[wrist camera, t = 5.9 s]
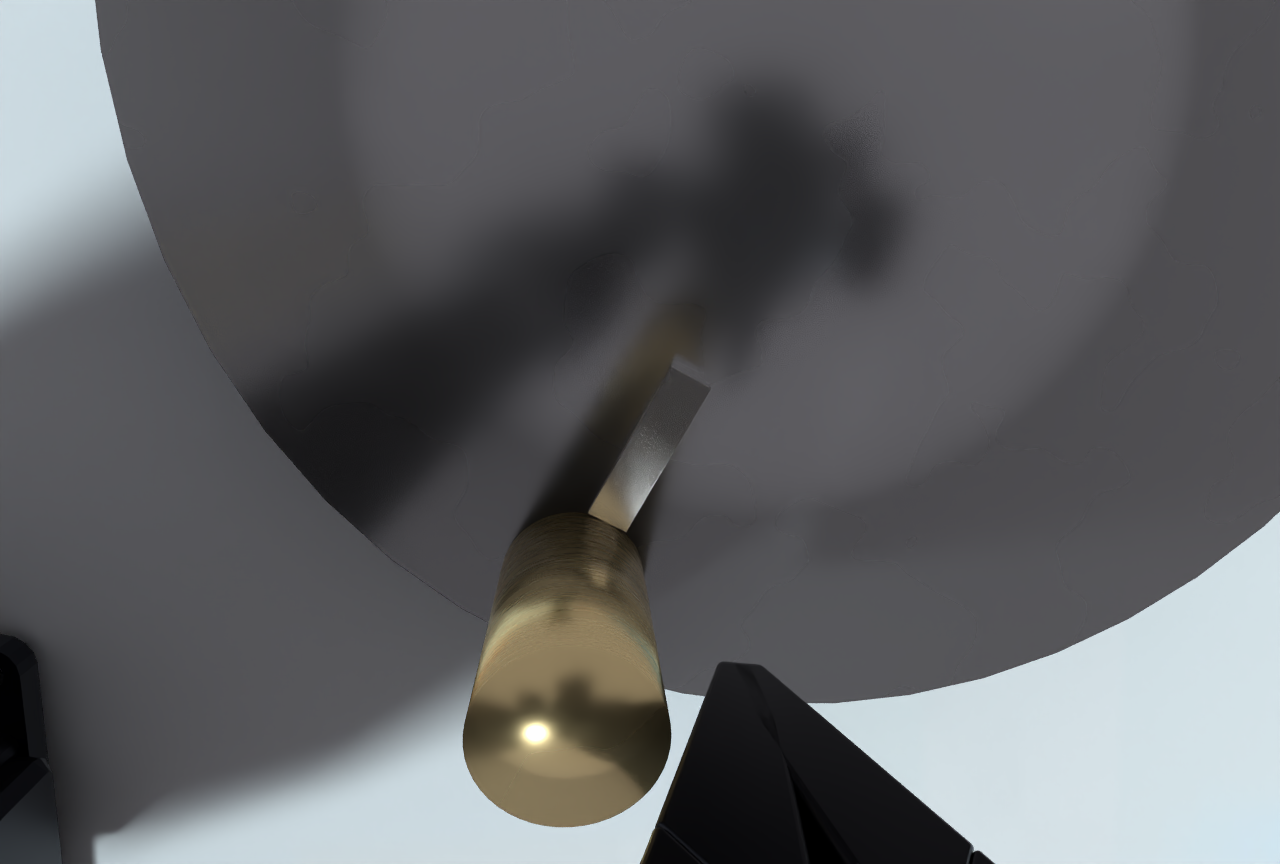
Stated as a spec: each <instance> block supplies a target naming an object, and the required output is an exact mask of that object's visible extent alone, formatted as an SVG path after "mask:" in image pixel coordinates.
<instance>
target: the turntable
mask: <svg viewBox="0 0 1280 864" xmlns="http://www.w3.org/2000/svg"><path fill="white" fill-rule="evenodd" d="M95 3H96V12H97V20H98V29H99V38H100V46H101V53H102V57H103V61H104V65H105V69H106V73H107V78H108V82H109V86H110V90H111V94H112V98H113V103H114V107H115V111H116V115H117V119H118V123H119V128H120V132H121V136H122V140H123V144H124V148H125V153H126V157H127V161H128V163H129V166H130V169H131V171H132V174H133V177H134V180H135V182H136V185H137V188H138V190H139V193H140V196H141V198H142V201H143V204H144V206H145V209H146V212H147V215H148V217H149V220H150V223H151V225H152V228H153V231H154V233H155V236H156V239H157V242H158V244H159V247H160V250H161V252H162V255H163V258H164V260H165V262H166V264H167V266H168V268H169V270H170V272H171V274H172V276H173V278H174V280H175V282H176V284H177V286H178V288H179V290H180V292H181V294H182V295H183V297H184V299H185V301H186V303H187V305H188V307H189V309H190V311H191V313H192V315H193V317H194V319H195V321H196V323H197V325H198V327H199V328H200V330H201V332H202V334H203V336H204V338H205V340H206V342H207V344H208V346H209V348H210V350H211V352H212V353H213V355H214V356H215V358H216V359H217V361H218V362H219V364H220V365H221V366H222V368H223V369H224V371H225V372H226V374H227V375H228V377H229V378H230V380H231V381H232V383H233V384H234V386H235V387H236V389H237V390H238V392H239V393H240V394H241V396H242V397H243V399H244V400H245V402H246V403H247V405H248V406H249V408H250V409H251V411H252V412H253V414H254V415H255V417H256V418H257V420H258V421H259V422H260V424H261V425H262V427H263V428H264V430H265V431H266V433H267V434H268V435H269V436H270V437H271V438H272V439H273V441H274V442H275V443H276V444H277V445H278V446H279V447H280V449H281V450H282V451H283V452H284V453H285V454H286V455H287V457H288V458H289V459H290V460H291V461H292V462H293V463H294V465H295V466H296V467H297V468H298V469H299V470H300V471H301V473H302V474H303V475H304V476H305V477H306V478H307V480H308V481H309V482H310V483H311V484H312V485H313V486H314V488H315V489H316V490H317V491H318V492H319V493H320V494H321V496H322V497H323V498H324V499H325V500H326V501H327V502H328V503H329V504H330V505H331V506H332V507H333V508H335V509H336V510H337V511H338V512H339V513H340V514H341V515H342V516H343V517H345V518H346V519H347V520H348V521H349V522H350V523H351V524H352V525H354V526H355V527H356V528H357V529H358V530H359V531H360V532H361V533H362V534H364V535H365V536H366V537H367V538H368V539H369V540H370V541H371V542H372V543H374V544H375V545H376V546H377V547H378V548H379V549H380V550H381V551H382V552H384V553H385V554H386V555H387V556H388V557H389V558H390V559H391V560H393V561H394V562H396V563H397V564H398V565H400V566H401V567H403V568H404V569H406V570H407V571H408V572H410V573H411V574H413V575H414V576H416V577H417V578H419V579H420V580H421V581H423V582H424V583H426V584H427V585H429V586H430V587H431V588H433V589H434V590H436V591H437V592H439V593H440V594H441V595H443V596H444V597H446V598H447V599H449V600H450V601H451V602H453V603H454V604H456V605H457V606H459V607H460V608H462V609H464V610H465V611H467V612H469V613H471V614H473V615H475V616H477V617H479V618H481V619H482V620H484V621H486V622H488V627H487V631H486V636H485V640H484V644H483V648H482V652H481V656H480V661H479V665H478V669H477V673H476V677H475V682H474V686H473V690H472V694H471V698H470V703H469V707H468V711H467V715H466V719H465V724H464V730H463V751H464V757H465V761H466V764H467V767H468V770H469V772H470V774H471V776H472V778H473V780H474V782H475V783H476V784H477V786H478V787H479V789H480V790H481V791H482V792H483V793H484V795H485V796H486V797H487V798H488V799H489V800H490V801H492V802H493V803H494V804H495V805H496V806H498V807H499V808H501V809H502V810H504V811H505V812H507V813H509V814H511V815H513V816H515V817H517V818H519V819H522V820H525V821H528V822H531V823H534V824H539V825H544V826H552V827H576V826H584V825H589V824H593V823H597V822H600V821H603V820H606V819H609V818H611V817H613V816H615V815H618V814H620V813H622V812H623V811H625V810H626V809H628V808H630V807H631V806H633V805H634V804H635V803H636V802H638V801H639V800H640V799H641V798H642V797H643V796H644V795H645V794H646V793H647V792H648V791H649V790H650V789H651V788H652V787H653V785H654V784H655V783H656V781H657V780H658V778H659V776H660V775H661V773H662V771H663V769H664V767H665V764H666V761H667V759H668V755H669V751H670V746H671V724H670V718H669V713H668V707H667V701H666V696H665V690H664V689H667V690H671V691H675V692H679V693H684V694H692V695H700V696H706V693H707V690H708V688H709V685H710V683H711V680H712V677H713V675H714V672H715V670H716V667H717V665H718V664H719V663H720V662H722V661H725V662H737V663H749V664H759V665H762V666H763V667H765V668H766V669H767V670H768V671H769V672H771V673H772V674H773V675H774V676H775V677H776V678H778V679H779V680H780V681H781V682H782V683H783V684H785V685H786V686H787V687H788V688H789V689H791V690H792V691H793V692H794V693H795V694H796V695H798V696H799V697H800V698H801V699H802V700H803V701H805V702H806V703H840V702H849V701H858V700H867V699H876V698H885V697H894V696H903V695H911V694H915V693H920V692H924V691H929V690H933V689H937V688H942V687H946V686H951V685H955V684H959V683H964V682H968V681H973V680H977V679H981V678H985V677H988V676H991V675H994V674H997V673H1000V672H1003V671H1005V670H1008V669H1011V668H1014V667H1017V666H1020V665H1023V664H1026V663H1028V662H1031V661H1034V660H1037V659H1040V658H1043V657H1046V656H1049V655H1052V654H1054V653H1057V652H1059V651H1062V650H1064V649H1066V648H1068V647H1070V646H1072V645H1074V644H1076V643H1078V642H1081V641H1083V640H1085V639H1087V638H1089V637H1091V636H1093V635H1095V634H1097V633H1100V632H1102V631H1104V630H1106V629H1108V628H1110V627H1112V626H1114V625H1116V624H1119V623H1121V622H1123V621H1125V620H1127V619H1129V618H1131V617H1132V616H1134V615H1136V614H1137V613H1139V612H1141V611H1142V610H1144V609H1145V608H1147V607H1149V606H1150V605H1152V604H1154V603H1155V602H1157V601H1159V600H1160V599H1162V598H1163V597H1165V596H1167V595H1168V594H1170V593H1172V592H1173V591H1175V590H1177V589H1178V588H1180V587H1182V586H1183V585H1185V584H1186V583H1188V582H1190V581H1191V580H1193V579H1195V578H1196V577H1198V576H1199V575H1200V574H1202V573H1203V572H1204V571H1206V570H1207V569H1208V568H1210V567H1211V566H1212V565H1214V564H1215V563H1216V562H1218V561H1219V560H1220V559H1222V558H1223V557H1224V556H1225V555H1227V554H1228V553H1229V552H1231V551H1232V550H1233V549H1235V548H1236V547H1237V546H1239V545H1240V544H1241V543H1243V542H1244V541H1245V540H1246V539H1248V538H1249V537H1250V536H1252V535H1253V534H1254V533H1256V532H1257V531H1258V530H1260V529H1261V528H1262V527H1264V526H1265V525H1266V524H1267V523H1268V522H1269V521H1270V520H1271V519H1272V518H1273V517H1274V516H1275V515H1276V514H1277V513H1278V512H1280V0H95Z"/></svg>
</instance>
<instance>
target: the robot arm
mask: <svg viewBox="0 0 1280 864" xmlns="http://www.w3.org/2000/svg"><path fill="white" fill-rule="evenodd" d="M0 668H1V670H2V673H3V674H1V673H0V864H62V858H61V849H60V839H59V830H58V821H57V812H56V802H55V793H54V784H53V775H52V771H51V769H50V767H49V765H48V756H47V747H46V737H45V728H44V719H43V710H42V701H41V692H40V682H39V673H38V664H37V660H36V657H35V655H34V652H33V651H32V650H31V649H30V648H29V646H28V645H27V644H26V643H24V642H23V641H21V640H19V639H17V638H16V637H13V636H8V635H4V634H0ZM973 852H974V853H973ZM640 864H995V863H994V862H992V861H991V860H990V859H989V858H988V857H987V856H985V855H984V854H983V853H982V852H981V851H978V850H977V851H974V847H973V845H972V844H971V843H970V842H969V841H967V840H966V839H965V838H964V837H963V836H962V835H960V834H959V833H958V832H957V831H956V830H955V829H953V828H952V827H951V826H950V825H949V824H948V823H946V822H945V821H944V820H943V819H942V818H941V817H939V816H938V815H937V814H936V813H935V812H933V811H932V810H931V809H930V808H929V807H928V806H926V805H925V804H924V803H923V802H922V801H921V800H919V799H918V798H917V797H916V796H915V795H914V794H912V793H911V792H910V791H909V790H908V789H907V788H905V787H904V786H903V785H902V784H901V783H900V782H898V781H897V780H896V779H895V778H894V777H892V776H891V775H890V774H889V773H888V772H887V771H885V770H884V769H883V768H882V767H881V766H880V765H878V764H877V763H876V762H875V761H874V760H873V759H871V758H870V757H869V756H868V755H867V754H866V753H864V752H863V751H862V750H861V749H860V748H858V747H857V746H856V745H855V744H854V743H853V742H851V741H850V740H849V739H848V738H847V737H846V736H844V735H843V734H842V733H841V732H840V731H839V730H837V729H836V728H835V727H834V726H833V725H832V724H830V723H829V722H828V721H827V720H826V719H825V718H823V717H822V716H821V715H820V714H819V713H817V712H816V711H815V710H814V709H813V708H812V707H810V706H809V705H808V704H807V703H806V702H805V701H803V700H802V699H801V698H800V697H799V696H798V695H796V694H795V693H794V692H793V691H792V690H791V689H789V688H788V687H787V686H786V685H785V684H783V683H782V682H781V681H780V680H779V679H778V678H776V677H775V676H774V675H773V674H772V673H771V672H769V671H768V670H767V669H766V668H765V667H763V666H762V665H759V664H749V663H737V662H725V661H722V662H720V663H719V664H718V665H717V667H716V670H715V672H714V675H713V677H712V680H711V683H710V685H709V688H708V690H707V693H706V696H705V698H704V701H703V703H702V706H701V709H700V711H699V714H698V717H697V719H696V722H695V724H694V727H693V730H692V732H691V735H690V737H689V740H688V743H687V745H686V748H685V750H684V753H683V755H682V758H681V761H680V763H679V766H678V768H677V771H676V774H675V776H674V779H673V781H672V784H671V787H670V789H669V792H668V794H667V797H666V800H665V802H664V805H663V807H662V810H661V813H660V815H659V818H658V820H657V823H656V826H655V829H654V830H653V832H652V835H651V837H650V840H649V843H648V845H647V848H646V850H645V853H644V855H643V858H642V860H641V862H640Z"/></svg>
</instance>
